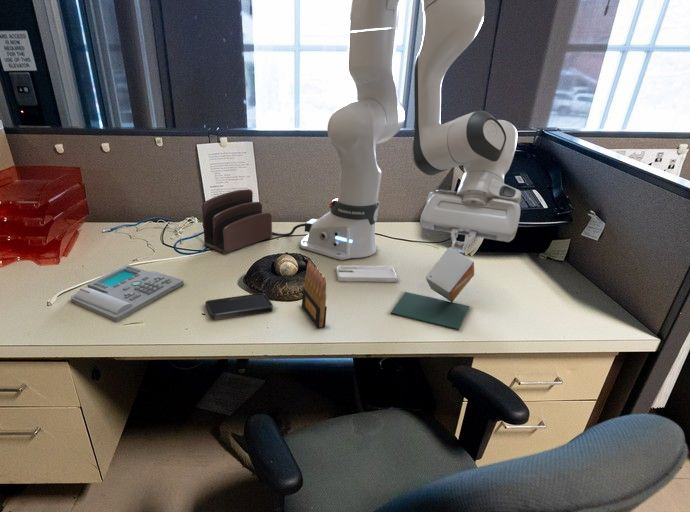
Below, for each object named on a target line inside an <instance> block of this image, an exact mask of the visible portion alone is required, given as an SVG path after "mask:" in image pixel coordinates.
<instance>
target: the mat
mask: <svg viewBox="0 0 690 512" xmlns="http://www.w3.org/2000/svg"><path fill="white" fill-rule="evenodd" d="M403 293H404V294H403V295H402V296H401V297H400V299H399V300H398V301H397V303H396V304H395V306H394V308H393V309H392V310H391V312H390V315H393V316H397V317H401V318H406V319H410V320H413V321H417V322H422V323H425V324H430V325H434V326H438V327H442V328H446V329H450V330H455V331H459V330H460V328H461V326H462V324H463V322H464V319H465V317H466V315H467V313H468V310H469V309H470V306H469V305H466V304H462V303H457V302H454V301H453V302H450V301H449V300H444V299H439V298H436V297H435V298H434V297H430V296H426V295H422V294H421V295H420V294H417V293H411V292H409V291H408V292H407V291H405V292H403Z"/></svg>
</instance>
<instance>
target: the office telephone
mask: <svg viewBox="0 0 690 512" xmlns="http://www.w3.org/2000/svg"><path fill="white" fill-rule="evenodd" d="M184 284H185V283H184V279H181V278H178V277H175V276H172V275H168V274H164V273H161V272H158V271H154V270H150V271H149V270H145V269H141V268H138V267H134V266H131V265H130V264H126V265H124V266H121V267H119V268H116V269H115V270H112V271H110V272H108V273H106V274H104V275H102V276H100V277H97V278H95V279H93V280H91V281H90V282H88V283H86V285H87V287H84V288H80V289H79V290H78V291H76V292H75V293H74V294H72V295H71V296H70V300H71V302H72V303H74V304H75V305H78V306H80V307H82V308H85V309H86V310H88V311H90V312H93V313H95V314H98V315H100V316H102V317H105V318H107V319H109V320H111V321H113V322H115V323H117V322H120V321H121V320H123V319H125V318H127V317H128V316H130V315H132V314H133V313H135V312H137V311H139V310H141V309H142V308H144V307H146V306H147V305H149V304H151V303H153V302H154V301H156V300H158V299H160V298H161V297H163V296H165V295H166V294H168V293H170V292H172V291H174V290H175V289H176V290H177V289H178V288H180V287H181V286H183V285H184Z"/></svg>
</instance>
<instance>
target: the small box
mask: <svg viewBox="0 0 690 512" xmlns="http://www.w3.org/2000/svg"><path fill="white" fill-rule="evenodd" d="M474 276H475V262H474V260H472V259H470V258H468V257H467V256H465V255H464V254H463V253H461V252H457V251H456V250H454V249H452V248H451V246H449V247H448V248H447V249H446V251H444V253H443V254H442V255H441V257H439V259H437V261H436V263H434V265H433V267H432V269H431V270H430V271H429V272H428V273H427V275H426V276H425V280H426V283H427V284H428V286H429V287H430V290H432V291H433V292H435V293H437V294H438V295H440V297H443V298H444V299H445V300H446V301H448V302H453V303H454V301H455V299H456V298H457V297H458V296H459V295H460V294H461V292H462V291H463V289H464V288H465V287H466V286H467V284H469V283H470V281H471V280H472V279H473V277H474Z"/></svg>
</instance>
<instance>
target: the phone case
mask: <svg viewBox="0 0 690 512" xmlns="http://www.w3.org/2000/svg"><path fill="white" fill-rule="evenodd" d="M335 271H336V276H337V281H339V282H358V283H359V282H365V283H367V282H368V283H370V282H371V283H374V282H376V283H377V282H378V283H396V282H397V281H398V275H397V273H396V271H395V268H394V266H392V265H336V268H335ZM341 271H342V272H341Z"/></svg>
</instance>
